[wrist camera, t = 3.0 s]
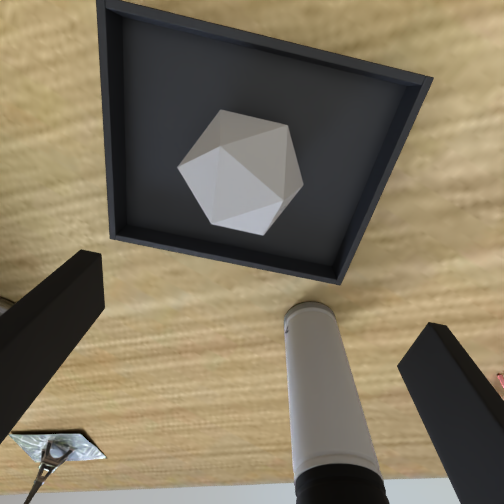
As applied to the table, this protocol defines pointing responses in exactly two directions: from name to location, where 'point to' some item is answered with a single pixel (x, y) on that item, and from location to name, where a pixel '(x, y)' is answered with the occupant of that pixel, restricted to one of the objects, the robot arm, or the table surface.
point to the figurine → (501, 379)
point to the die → (243, 171)
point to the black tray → (255, 105)
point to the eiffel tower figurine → (54, 452)
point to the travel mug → (327, 415)
